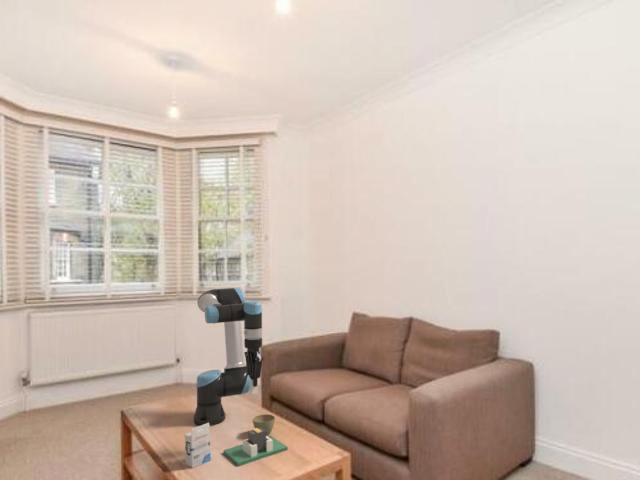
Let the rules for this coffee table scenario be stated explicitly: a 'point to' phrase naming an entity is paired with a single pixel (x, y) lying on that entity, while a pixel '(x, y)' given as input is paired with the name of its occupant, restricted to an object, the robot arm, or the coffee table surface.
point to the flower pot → (264, 422)
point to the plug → (258, 438)
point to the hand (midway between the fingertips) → (253, 393)
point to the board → (253, 451)
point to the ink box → (197, 446)
